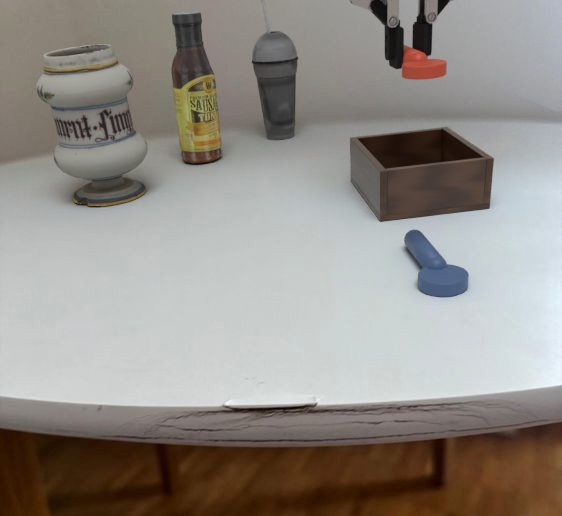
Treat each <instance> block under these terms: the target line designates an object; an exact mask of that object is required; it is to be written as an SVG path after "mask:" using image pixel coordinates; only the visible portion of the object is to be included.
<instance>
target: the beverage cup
mask: <svg viewBox="0 0 562 516" xmlns="http://www.w3.org/2000/svg"><path fill="white" fill-rule="evenodd" d="M260 1H261V5H262V6H261V7H262V12H263V17H264V22H265V29H266V32H264V33H263V34H262V35H260V36H259V37H258V38H257V40H256V42H255V43H254V45H253V49H252V55H251V57H252V59H251V64H252V67H253V71H254V75H255V77H256V82H257V83H256V84H257V89H258V95H259V101H260V104H261V105H260V106H261V112H262V119H263V125H264V129H265V133H266V138H267V139H269V140H271V141H272V140H274V141H278V140H280V141H281V140H288V139H292V138H293V137H295V127H296V88H297V87H296V83H297V82H296V80H297V71H298V60H299V56H298V52H297V48H296V46H295V43H294V41H293V40H292V39H291V37H290V36H289V35H288V34H285V33H284V32H282V31H281V30H273V31H271V29H270V28H271V27H270V22H269V17H268V12H267V5H266V0H260Z"/></svg>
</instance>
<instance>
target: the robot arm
mask: <svg viewBox="0 0 562 516" xmlns="http://www.w3.org/2000/svg"><path fill="white" fill-rule="evenodd" d="M452 1H454V0H417V16H416V21H413V24H412V37H411V39H412V46H411V48H413V49H416V50H418V51H421V52H423V53H424V54H426V56H427V58H428V59H429V56H431V55H432V52H433V24H434V23H436V22H437V20H438V16H439V15H440V14H441V13H442V12H443V11H444V9H446V6H447V5H448V4H450V2H452ZM349 3H350V4H352V5H353V6H357V7H359V8H362V9H364V10H367V11H370V12H371V14H372V15H373V16H375V18H376V19H377V20H378V21H379V22H380V23H381V24H382V26H384V59H385V61H388V65H389V67H391V68H392V69H395V70H402V64H403V57H404V45H405V28H404V27H403V26H401V19H400V0H349Z"/></svg>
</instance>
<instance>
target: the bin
mask: <svg viewBox="0 0 562 516" xmlns="http://www.w3.org/2000/svg"><path fill="white" fill-rule="evenodd" d="M349 157H350V158H349V159H350V160H349V161H350V162H349V165H350V183H351V184H352V185H353V186H354V187H355V189H356V190H357V192H358V193H359V195H360V196H361V197H362V199H363V200H364V201H365V203H366V204H367V205H368V207H369V208H370V210H371V211H372V212H373V214H374V215H375V217H377V219H378V221H379V222H387V221H394V220H395V221H396V220H404V219H412V218H420V217H428V216H437V215H445V214H453V213H461V212H462V213H463V212H470V211H478V210H479V211H480V210H486V209H487V210H488V209H490V208H491V197H492V186H493V174H494V162H495V161H494V160H495V158H494V157H492V155H490V154H488V153H487V152H486V151H484V150H482V149H481V148H479V147H477V146H476V145H475V144H473V143H472V142H470V141H469V140H467V139H466V138H464V137H463V136H461V135H460V134H459V133H457V132H456V131H454V130H452V129H451V128H450V127H448V126H441V127H433V128H423V129H414V130H405V131H398V132H397V131H396V132H389V133H388V132H387V133H379V134H370V135H362V136H353V137H349Z"/></svg>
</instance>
